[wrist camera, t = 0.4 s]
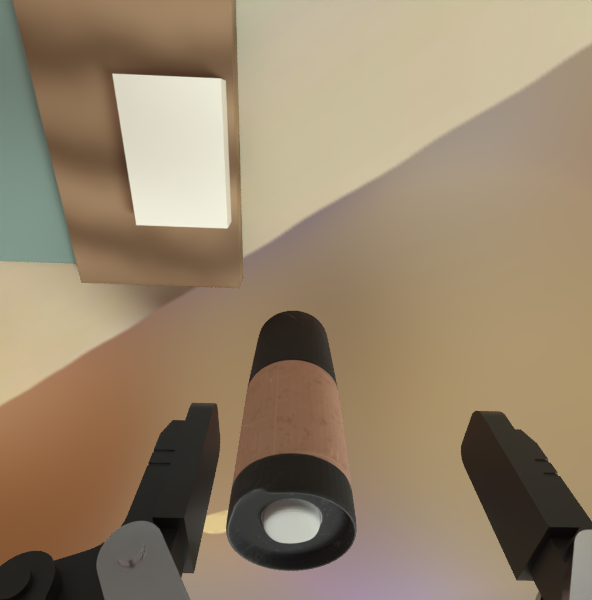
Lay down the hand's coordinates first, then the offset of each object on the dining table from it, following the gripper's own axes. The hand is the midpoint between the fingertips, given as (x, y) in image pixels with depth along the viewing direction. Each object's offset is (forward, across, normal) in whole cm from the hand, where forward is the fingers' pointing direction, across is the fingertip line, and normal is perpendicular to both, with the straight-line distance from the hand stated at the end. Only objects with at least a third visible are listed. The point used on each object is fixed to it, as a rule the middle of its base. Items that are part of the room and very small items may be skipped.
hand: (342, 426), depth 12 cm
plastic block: (+21, +10, -5) cm, 24 cm away
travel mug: (+24, +1, +13) cm, 27 cm away
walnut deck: (+24, +13, -5) cm, 28 cm away
